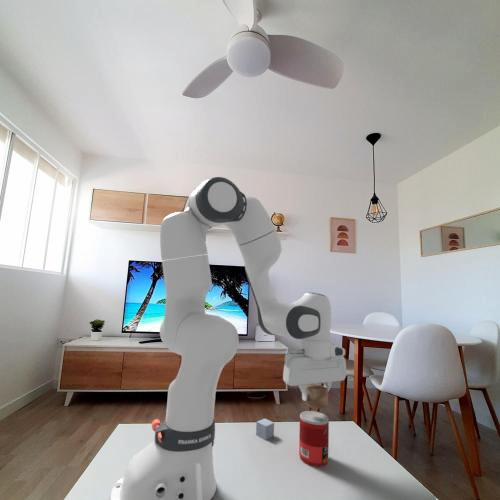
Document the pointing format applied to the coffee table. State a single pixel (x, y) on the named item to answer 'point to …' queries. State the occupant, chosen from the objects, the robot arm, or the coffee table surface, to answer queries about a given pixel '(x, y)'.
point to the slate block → (265, 429)
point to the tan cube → (317, 396)
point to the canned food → (314, 438)
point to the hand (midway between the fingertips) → (315, 398)
